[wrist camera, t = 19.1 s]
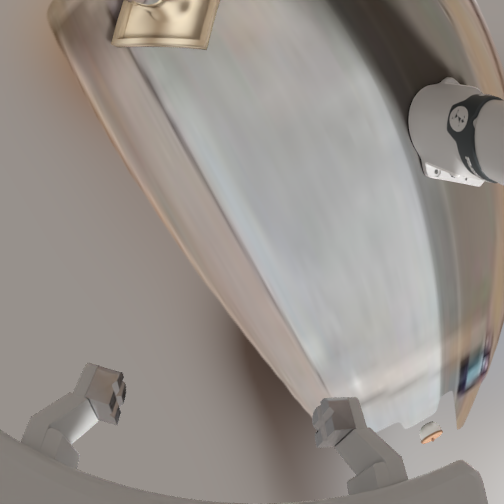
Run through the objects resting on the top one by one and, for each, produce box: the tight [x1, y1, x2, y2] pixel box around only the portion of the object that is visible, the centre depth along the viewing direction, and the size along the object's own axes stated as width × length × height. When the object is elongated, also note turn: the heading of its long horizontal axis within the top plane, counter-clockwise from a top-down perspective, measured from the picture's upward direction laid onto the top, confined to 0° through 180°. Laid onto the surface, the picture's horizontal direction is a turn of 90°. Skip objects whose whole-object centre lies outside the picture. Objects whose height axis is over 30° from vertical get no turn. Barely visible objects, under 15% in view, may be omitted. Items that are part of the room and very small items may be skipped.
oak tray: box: [111, 0, 220, 50], centre depth 26 cm, size 14×14×3 cm
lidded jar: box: [420, 422, 443, 444], centre depth 86 cm, size 11×11×9 cm
